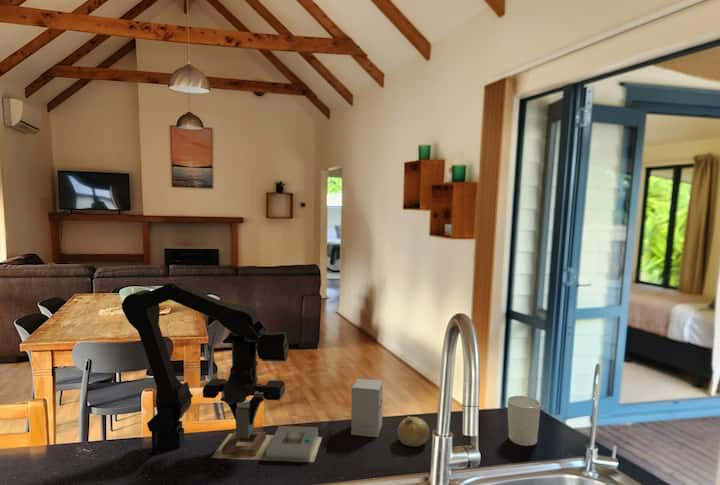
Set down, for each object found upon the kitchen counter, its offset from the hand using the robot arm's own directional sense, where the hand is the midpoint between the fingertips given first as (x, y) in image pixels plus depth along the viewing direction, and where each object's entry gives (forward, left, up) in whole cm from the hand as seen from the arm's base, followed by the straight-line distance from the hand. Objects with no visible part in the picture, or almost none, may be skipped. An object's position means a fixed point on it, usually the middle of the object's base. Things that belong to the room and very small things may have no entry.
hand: (245, 423), depth 113 cm
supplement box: (+29, +13, -7) cm, 32 cm away
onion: (+41, +7, -7) cm, 42 cm away
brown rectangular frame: (0, 0, -7) cm, 7 cm away
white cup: (+69, +11, -7) cm, 70 cm away
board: (+6, 0, -7) cm, 9 cm away
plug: (0, 0, -2) cm, 2 cm away
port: (+12, 0, -7) cm, 14 cm away
